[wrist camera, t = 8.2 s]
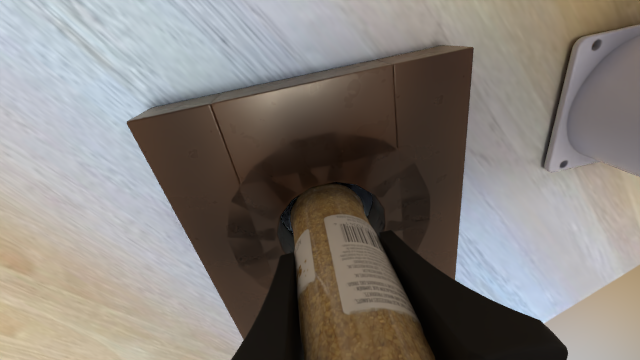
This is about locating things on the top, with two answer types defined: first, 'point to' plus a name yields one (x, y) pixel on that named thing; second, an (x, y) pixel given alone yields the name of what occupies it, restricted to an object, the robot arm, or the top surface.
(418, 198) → the holder
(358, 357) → the sprinkles bottle
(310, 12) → the top surface
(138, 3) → the top surface
